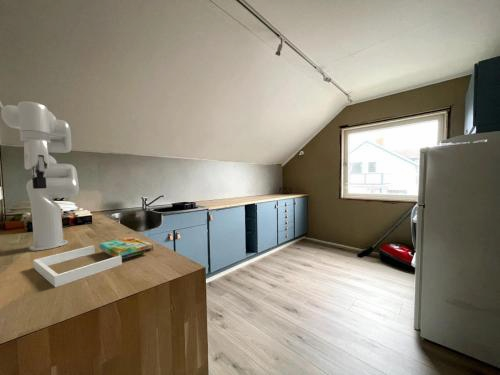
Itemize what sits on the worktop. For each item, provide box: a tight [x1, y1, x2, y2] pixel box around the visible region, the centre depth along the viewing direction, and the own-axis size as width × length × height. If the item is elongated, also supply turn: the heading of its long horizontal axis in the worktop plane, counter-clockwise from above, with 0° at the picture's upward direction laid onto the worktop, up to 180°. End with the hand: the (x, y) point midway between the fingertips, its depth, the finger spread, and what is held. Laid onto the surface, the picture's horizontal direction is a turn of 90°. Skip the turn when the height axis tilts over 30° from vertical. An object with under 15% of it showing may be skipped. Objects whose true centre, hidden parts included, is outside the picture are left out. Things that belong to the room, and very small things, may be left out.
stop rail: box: [146, 244, 154, 252], centre depth 87 cm, size 16×1×2 cm, turn 56°
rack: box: [33, 245, 123, 288], centre depth 70 cm, size 24×17×3 cm
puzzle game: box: [98, 236, 153, 260], centre depth 81 cm, size 12×5×20 cm
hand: (39, 188), depth 75 cm, fingers closed
